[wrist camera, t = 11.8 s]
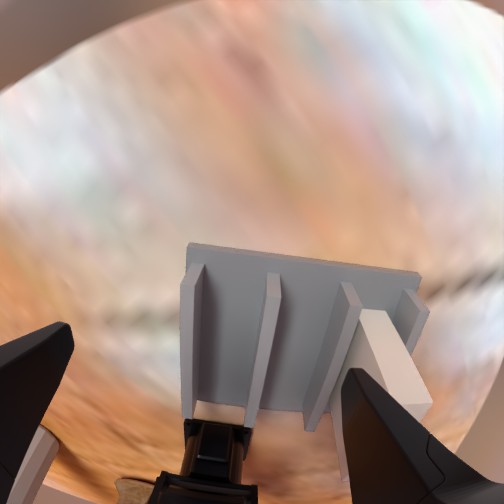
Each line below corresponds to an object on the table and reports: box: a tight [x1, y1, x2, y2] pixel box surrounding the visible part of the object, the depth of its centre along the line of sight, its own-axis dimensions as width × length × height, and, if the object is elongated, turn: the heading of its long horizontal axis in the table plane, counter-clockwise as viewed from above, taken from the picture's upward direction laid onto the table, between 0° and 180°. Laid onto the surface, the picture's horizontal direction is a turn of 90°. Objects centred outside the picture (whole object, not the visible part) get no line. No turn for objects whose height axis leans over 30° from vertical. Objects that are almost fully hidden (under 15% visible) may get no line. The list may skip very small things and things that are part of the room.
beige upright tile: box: [329, 309, 433, 482], centre depth 18 cm, size 8×2×9 cm, turn 173°
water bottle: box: [6, 425, 59, 504], centre depth 21 cm, size 9×8×25 cm
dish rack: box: [180, 243, 430, 432], centre depth 21 cm, size 14×16×4 cm
